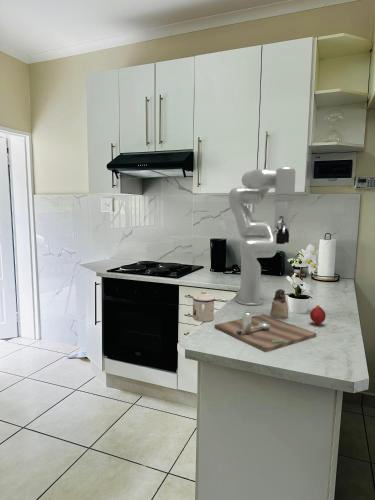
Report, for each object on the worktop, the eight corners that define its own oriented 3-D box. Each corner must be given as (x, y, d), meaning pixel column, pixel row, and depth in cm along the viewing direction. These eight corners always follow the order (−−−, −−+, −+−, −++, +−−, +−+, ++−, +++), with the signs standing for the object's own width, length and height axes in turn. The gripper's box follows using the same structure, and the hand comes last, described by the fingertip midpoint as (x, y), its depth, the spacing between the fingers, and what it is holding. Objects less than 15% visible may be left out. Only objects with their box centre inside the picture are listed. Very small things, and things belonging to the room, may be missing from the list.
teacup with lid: (192, 314, 144) (193, 288, 143) (214, 315, 144) (215, 288, 142) (190, 324, 133) (191, 294, 131) (214, 325, 132) (214, 295, 130)
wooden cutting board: (262, 317, 143) (262, 313, 143) (316, 336, 122) (316, 332, 122) (214, 327, 129) (214, 324, 129) (265, 352, 107) (266, 347, 107)
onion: (312, 321, 139) (313, 302, 138) (326, 324, 136) (328, 305, 135) (307, 324, 135) (308, 305, 134) (322, 328, 131) (323, 308, 130)
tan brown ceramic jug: (283, 313, 149) (284, 287, 148) (290, 318, 142) (292, 290, 141) (268, 314, 148) (269, 287, 146) (274, 319, 141) (276, 291, 139)
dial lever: (263, 325, 128) (264, 307, 127) (272, 328, 125) (273, 309, 124) (233, 332, 119) (234, 313, 119) (241, 336, 116) (242, 316, 115)
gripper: (278, 201, 142) (277, 241, 144) (270, 198, 127) (268, 244, 128) (297, 200, 139) (295, 242, 141) (290, 198, 123) (289, 244, 125)
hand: (282, 243), depth 134 cm, fingers open, 9 cm apart
